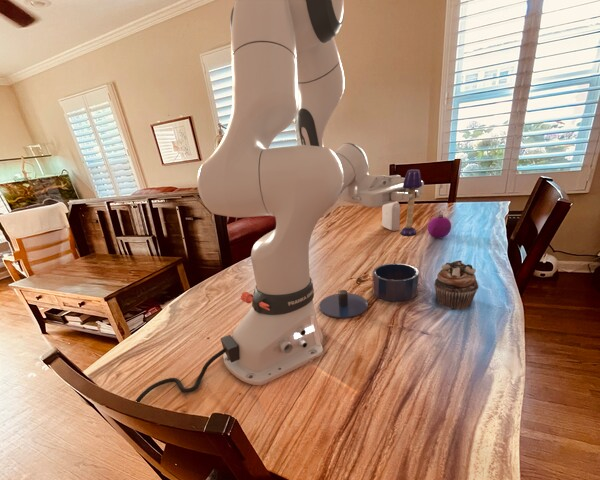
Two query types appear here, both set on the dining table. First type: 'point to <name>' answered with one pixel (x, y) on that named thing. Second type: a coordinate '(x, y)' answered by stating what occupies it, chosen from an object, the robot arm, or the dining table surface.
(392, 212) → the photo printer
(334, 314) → the pot lid
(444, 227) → the christmas ornament
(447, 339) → the dining table surface
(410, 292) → the pot
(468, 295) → the cupcake
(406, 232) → the toy lamp
